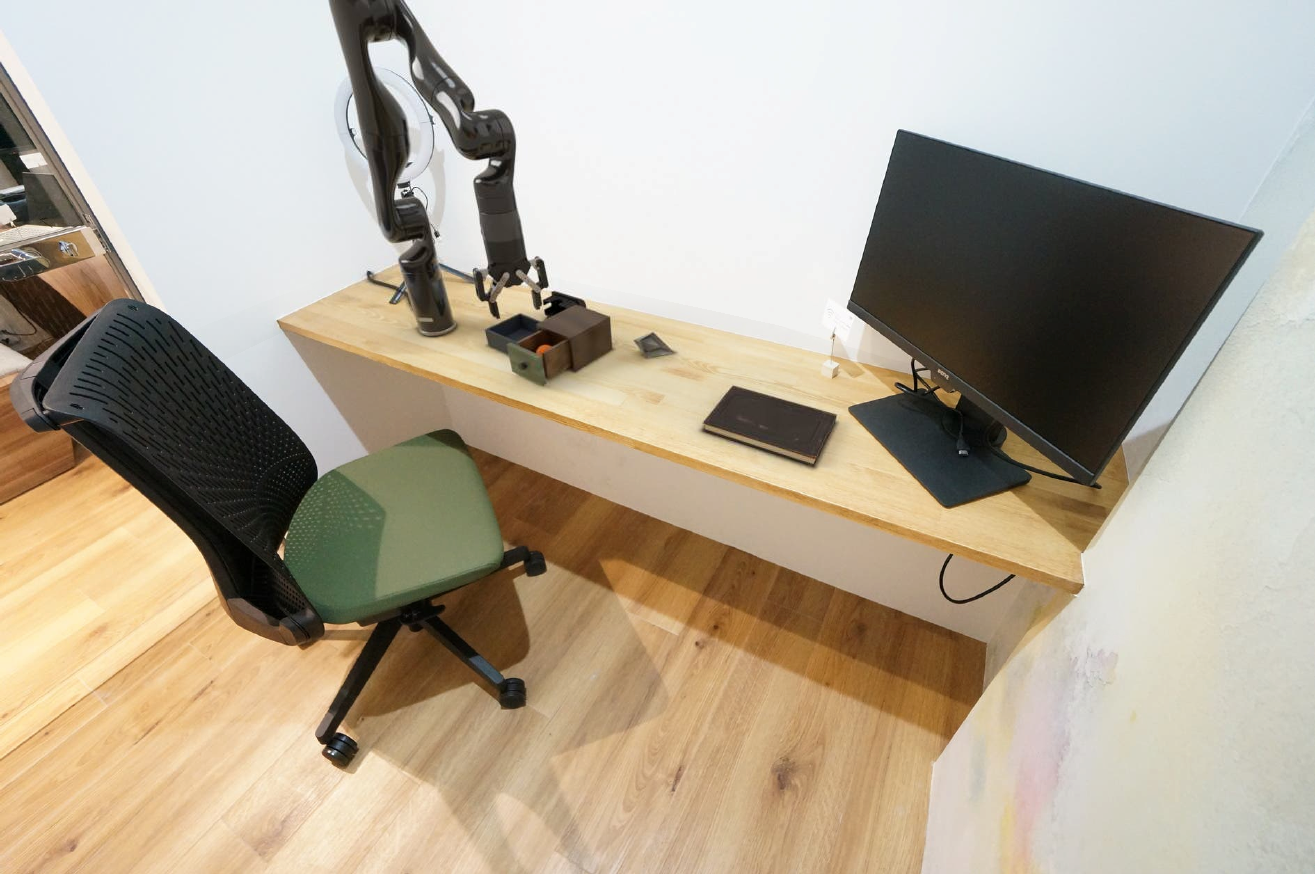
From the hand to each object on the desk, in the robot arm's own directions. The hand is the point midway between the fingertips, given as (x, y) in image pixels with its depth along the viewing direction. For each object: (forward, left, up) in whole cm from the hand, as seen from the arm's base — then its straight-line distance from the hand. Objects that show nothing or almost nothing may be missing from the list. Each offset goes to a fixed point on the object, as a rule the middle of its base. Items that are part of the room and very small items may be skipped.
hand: (517, 312), depth 110 cm
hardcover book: (+51, +19, -18) cm, 58 cm away
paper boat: (+14, +27, -18) cm, 36 cm away
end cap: (-18, +29, -18) cm, 39 cm away
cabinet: (-2, +17, -18) cm, 25 cm away
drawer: (-2, +6, -17) cm, 19 cm away
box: (-16, +12, -18) cm, 27 cm away
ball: (-2, +7, -14) cm, 15 cm away
